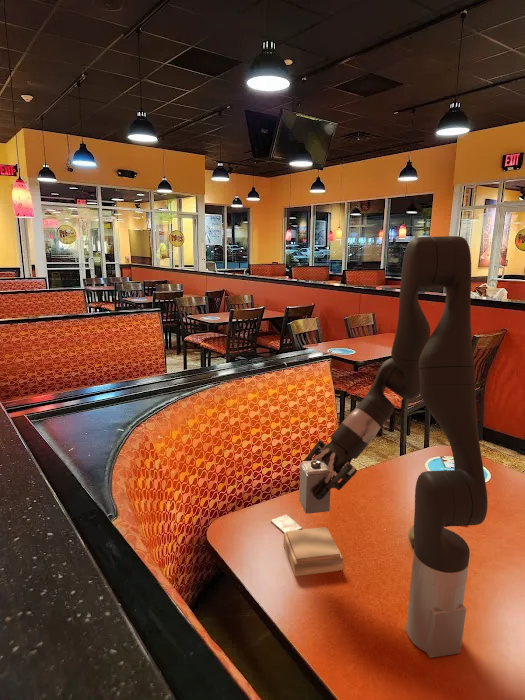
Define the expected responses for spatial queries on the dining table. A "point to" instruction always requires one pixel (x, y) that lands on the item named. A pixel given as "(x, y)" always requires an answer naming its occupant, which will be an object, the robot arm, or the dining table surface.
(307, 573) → the stand
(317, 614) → the dining table surface
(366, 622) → the dining table surface
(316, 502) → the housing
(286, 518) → the cover plate
